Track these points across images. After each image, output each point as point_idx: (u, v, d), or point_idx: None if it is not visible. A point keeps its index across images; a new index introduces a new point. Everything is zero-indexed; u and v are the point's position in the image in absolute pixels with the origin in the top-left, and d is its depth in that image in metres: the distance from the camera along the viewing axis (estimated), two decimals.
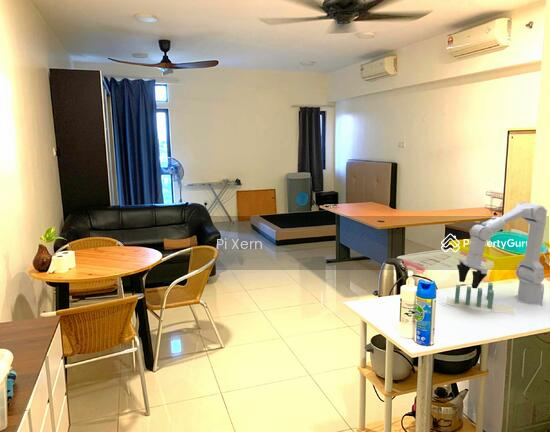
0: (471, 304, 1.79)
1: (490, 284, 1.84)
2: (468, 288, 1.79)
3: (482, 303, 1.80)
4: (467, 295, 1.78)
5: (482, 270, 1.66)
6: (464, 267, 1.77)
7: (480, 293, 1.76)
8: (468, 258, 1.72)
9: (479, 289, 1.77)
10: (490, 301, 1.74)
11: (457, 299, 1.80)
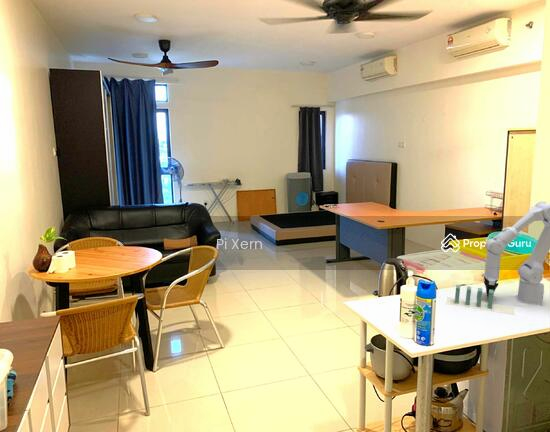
0: (471, 304, 1.79)
1: None
2: (468, 288, 1.79)
3: (482, 303, 1.80)
4: (467, 295, 1.78)
5: (489, 281, 1.79)
6: None
7: (480, 293, 1.76)
8: None
9: (479, 289, 1.77)
10: (490, 301, 1.74)
11: (457, 299, 1.80)
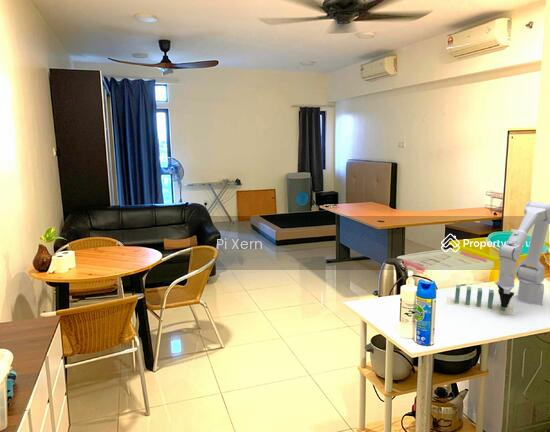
0: (471, 304, 1.79)
1: None
2: (468, 288, 1.79)
3: (482, 303, 1.80)
4: (467, 295, 1.78)
5: (504, 290, 1.67)
6: None
7: (480, 293, 1.76)
8: None
9: (479, 289, 1.77)
10: (490, 301, 1.74)
11: (457, 299, 1.80)
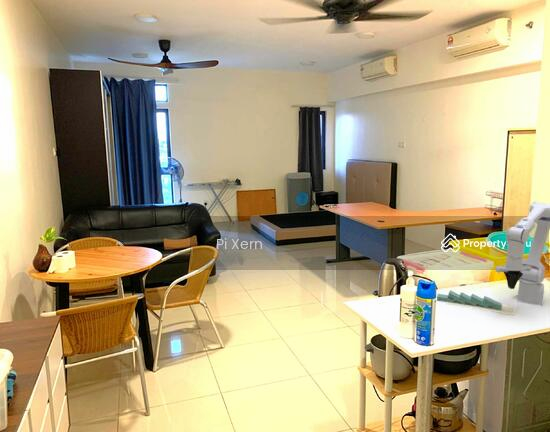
0: (471, 304, 1.79)
1: (483, 299, 1.77)
2: None
3: None
4: (454, 298, 1.80)
5: None
6: None
7: (462, 297, 1.79)
8: None
9: (460, 295, 1.81)
10: (480, 302, 1.76)
11: (449, 300, 1.81)
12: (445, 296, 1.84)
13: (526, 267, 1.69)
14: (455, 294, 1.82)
